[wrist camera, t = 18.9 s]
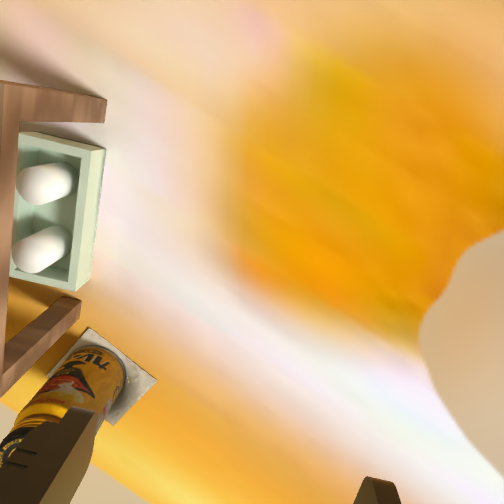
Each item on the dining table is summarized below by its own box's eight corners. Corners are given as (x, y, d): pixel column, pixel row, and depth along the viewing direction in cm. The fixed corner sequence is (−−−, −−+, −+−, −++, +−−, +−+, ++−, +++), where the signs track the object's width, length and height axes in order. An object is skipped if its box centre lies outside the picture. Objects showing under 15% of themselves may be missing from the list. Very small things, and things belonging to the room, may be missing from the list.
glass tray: (35, 131, 34) (-4, 132, 29) (106, 149, 34) (79, 152, 29) (25, 264, 38) (-11, 284, 33) (89, 279, 38) (63, 301, 33)
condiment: (90, 326, 39) (16, 409, 28) (158, 380, 41) (115, 479, 29) (47, 374, 41) (-38, 470, 30) (114, 423, 43) (57, 533, 31)
